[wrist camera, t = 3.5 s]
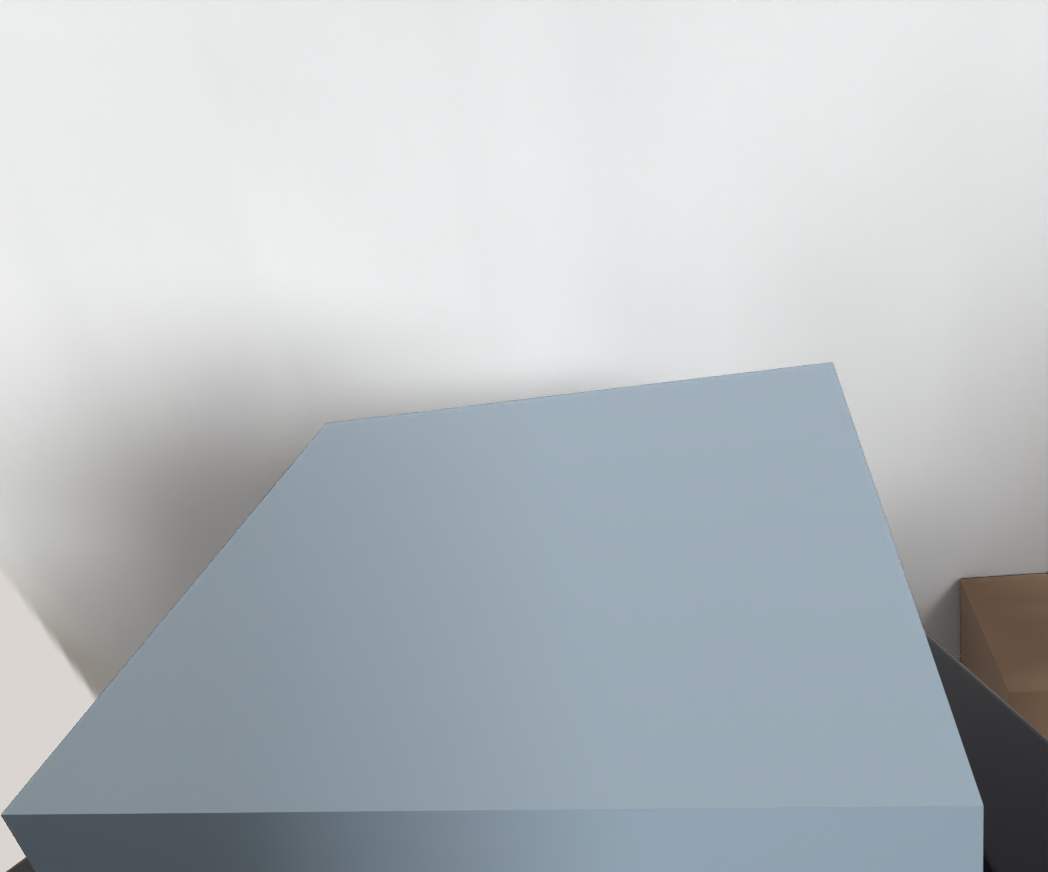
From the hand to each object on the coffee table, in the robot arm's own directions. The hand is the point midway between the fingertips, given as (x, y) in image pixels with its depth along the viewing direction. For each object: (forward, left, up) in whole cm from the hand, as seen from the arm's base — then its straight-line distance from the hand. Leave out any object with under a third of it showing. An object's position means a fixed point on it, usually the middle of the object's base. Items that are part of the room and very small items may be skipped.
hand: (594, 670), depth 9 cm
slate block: (0, 0, -1) cm, 1 cm away
